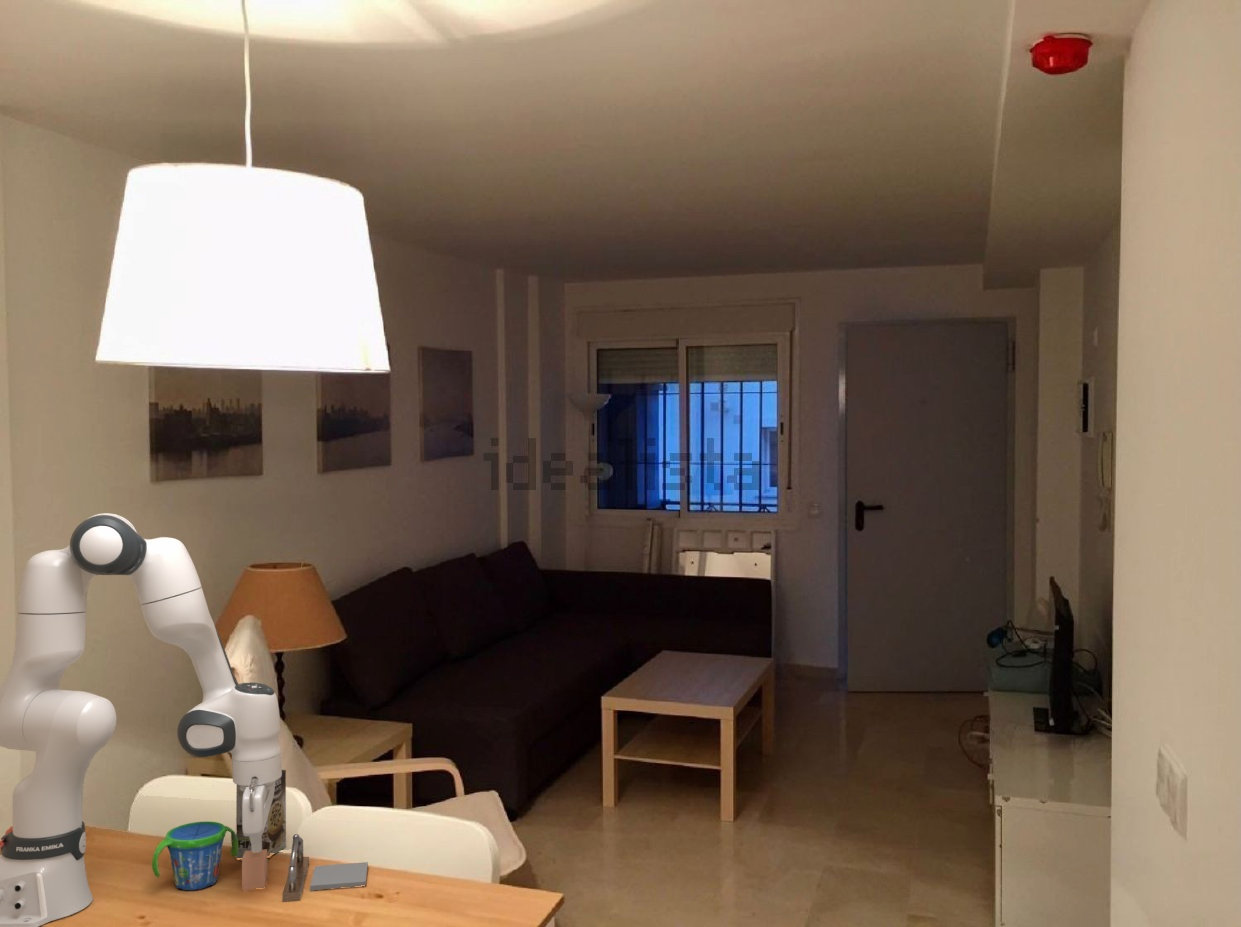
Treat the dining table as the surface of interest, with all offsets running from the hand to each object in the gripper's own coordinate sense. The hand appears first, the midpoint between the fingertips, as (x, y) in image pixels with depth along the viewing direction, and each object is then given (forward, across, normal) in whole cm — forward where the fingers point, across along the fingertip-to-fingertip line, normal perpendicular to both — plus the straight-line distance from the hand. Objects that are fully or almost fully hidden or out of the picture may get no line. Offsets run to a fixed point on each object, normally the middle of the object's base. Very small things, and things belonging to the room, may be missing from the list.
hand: (259, 841), depth 203 cm
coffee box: (+9, +16, +2) cm, 18 cm away
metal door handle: (+8, -2, -6) cm, 10 cm away
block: (+8, -1, +1) cm, 8 cm away
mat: (+8, -2, -14) cm, 17 cm away
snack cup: (+8, +2, +12) cm, 14 cm away
